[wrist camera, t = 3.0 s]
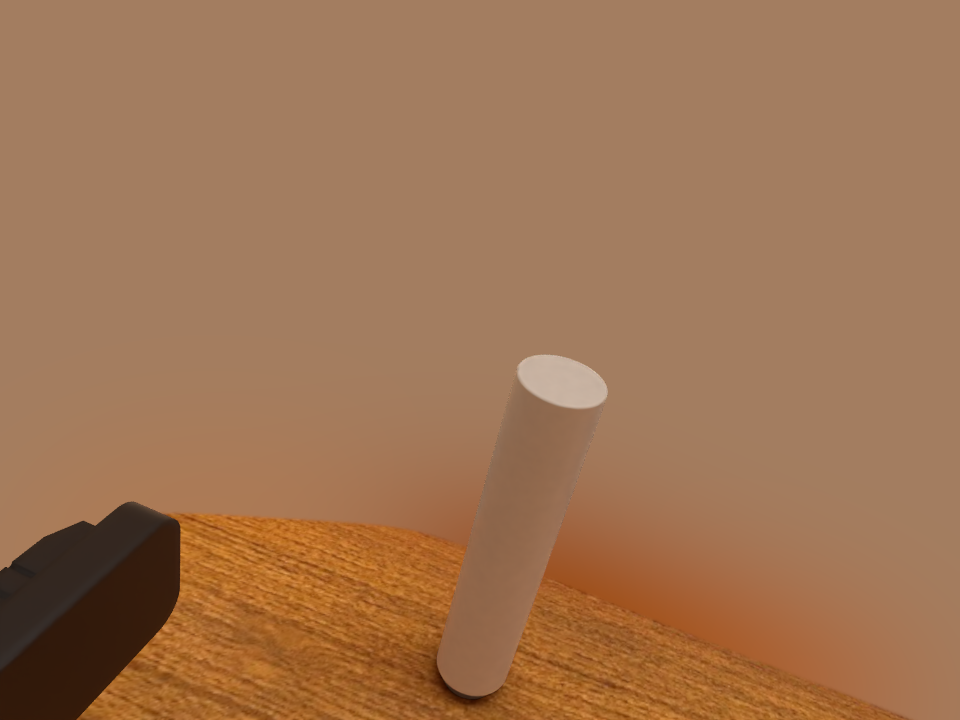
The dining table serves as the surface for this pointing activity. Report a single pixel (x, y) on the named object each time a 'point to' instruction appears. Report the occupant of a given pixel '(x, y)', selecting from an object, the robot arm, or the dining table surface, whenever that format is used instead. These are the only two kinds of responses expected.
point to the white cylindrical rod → (518, 518)
